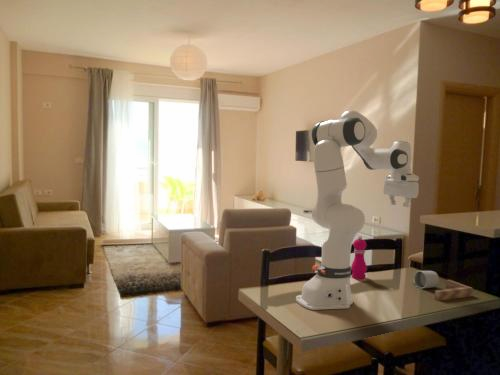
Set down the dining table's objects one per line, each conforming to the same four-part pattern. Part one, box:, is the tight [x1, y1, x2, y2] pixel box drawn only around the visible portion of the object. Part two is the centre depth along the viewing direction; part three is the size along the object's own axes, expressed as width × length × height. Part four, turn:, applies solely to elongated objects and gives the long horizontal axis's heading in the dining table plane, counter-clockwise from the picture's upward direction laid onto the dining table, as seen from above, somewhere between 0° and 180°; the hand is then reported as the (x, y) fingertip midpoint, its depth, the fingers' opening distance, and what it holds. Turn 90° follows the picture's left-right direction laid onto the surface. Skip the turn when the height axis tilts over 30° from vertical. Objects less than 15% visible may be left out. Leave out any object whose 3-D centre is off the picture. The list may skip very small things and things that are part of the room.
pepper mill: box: [350, 235, 368, 280], centre depth 194 cm, size 7×7×20 cm
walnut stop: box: [434, 279, 474, 301], centre depth 173 cm, size 18×12×4 cm, turn 110°
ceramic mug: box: [412, 270, 440, 290], centre depth 182 cm, size 11×8×8 cm
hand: (399, 205), depth 192 cm, fingers open, 7 cm apart
